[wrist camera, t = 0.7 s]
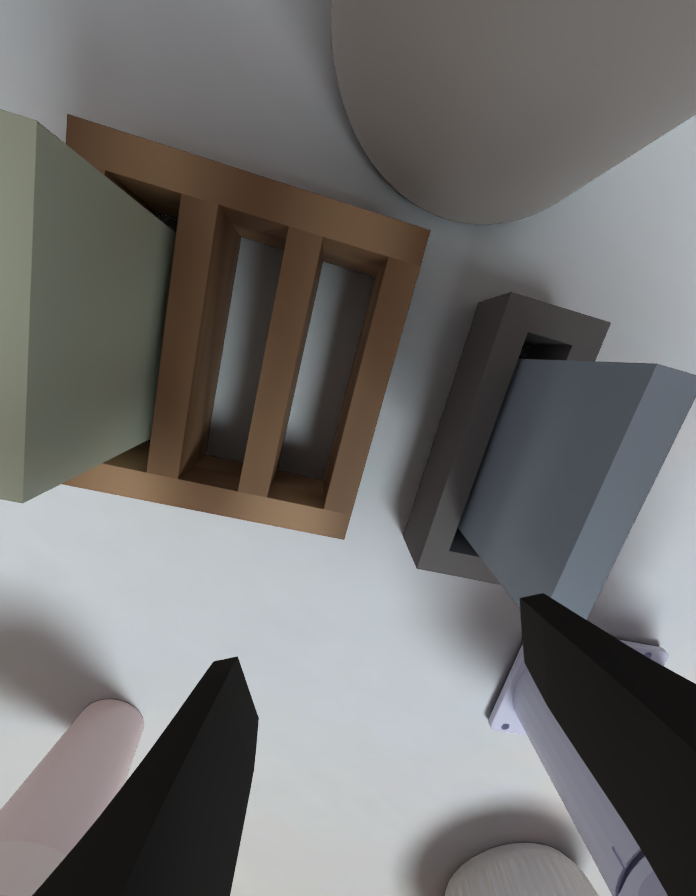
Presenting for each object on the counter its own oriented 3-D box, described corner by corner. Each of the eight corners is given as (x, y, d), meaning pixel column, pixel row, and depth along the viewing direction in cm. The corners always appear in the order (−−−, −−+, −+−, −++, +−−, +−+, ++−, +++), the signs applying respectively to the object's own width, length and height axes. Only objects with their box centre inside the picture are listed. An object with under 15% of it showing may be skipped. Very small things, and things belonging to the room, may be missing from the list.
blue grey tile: (517, 365, 18) (705, 377, 9) (464, 510, 20) (577, 637, 11) (491, 357, 17) (657, 363, 9) (440, 505, 19) (536, 630, 11)
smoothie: (45, 683, 21) (-484, 1315, 7) (160, 678, 21) (-130, 1265, 8) (66, 765, 22) (-331, 1404, 9) (172, 759, 23) (-49, 1357, 9)
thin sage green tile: (197, 250, 15) (36, 120, 7) (173, 427, 17) (22, 503, 9) (164, 241, 15) (-45, 94, 7) (143, 420, 17) (-41, 491, 8)
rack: (408, 255, 16) (430, 230, 13) (340, 506, 19) (344, 539, 16) (126, 169, 14) (67, 114, 11) (101, 456, 17) (47, 481, 14)
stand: (562, 327, 17) (610, 322, 14) (477, 551, 20) (502, 584, 17) (478, 302, 17) (511, 292, 14) (403, 536, 20) (416, 568, 17)
